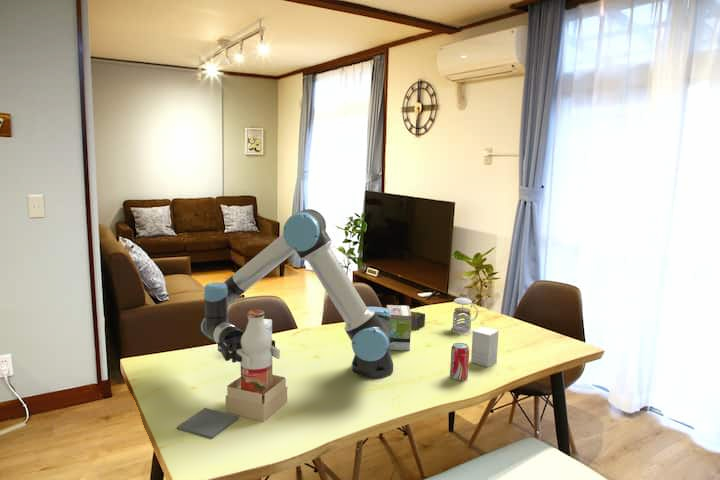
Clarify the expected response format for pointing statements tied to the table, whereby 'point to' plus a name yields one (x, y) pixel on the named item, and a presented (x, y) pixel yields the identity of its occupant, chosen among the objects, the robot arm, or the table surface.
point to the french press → (462, 316)
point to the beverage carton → (417, 320)
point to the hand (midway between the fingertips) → (263, 358)
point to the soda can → (459, 361)
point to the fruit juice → (257, 355)
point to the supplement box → (484, 346)
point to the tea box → (400, 327)
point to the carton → (256, 399)
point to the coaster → (208, 423)
